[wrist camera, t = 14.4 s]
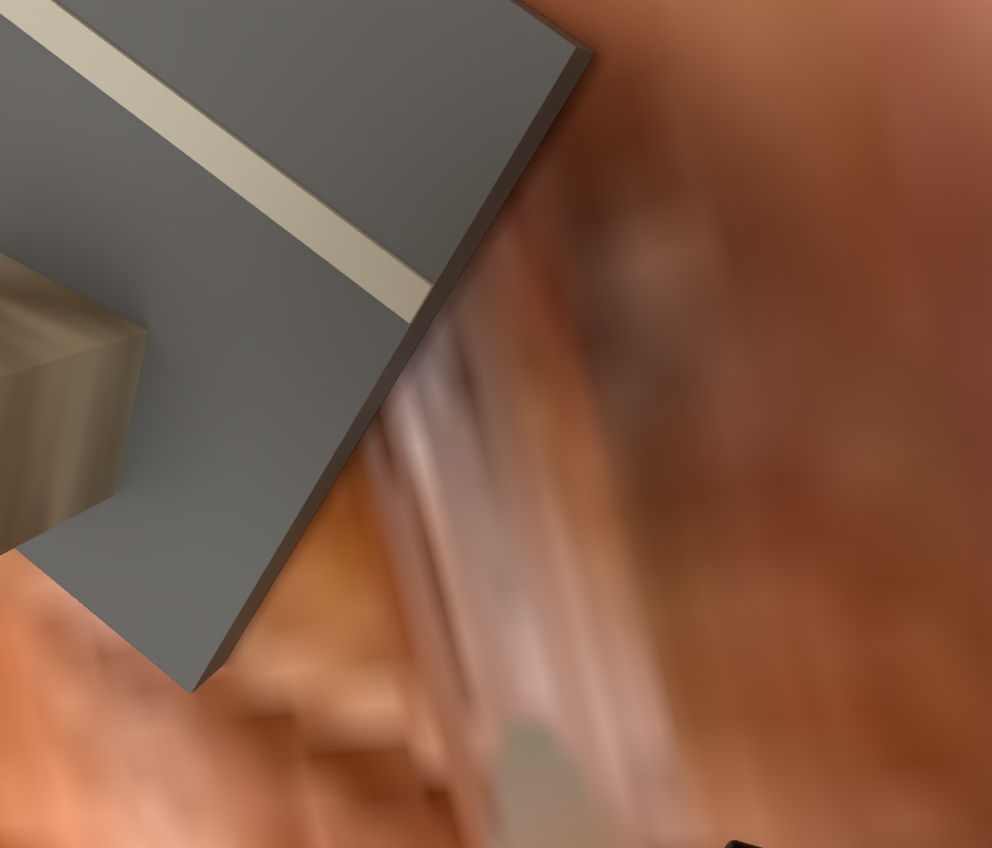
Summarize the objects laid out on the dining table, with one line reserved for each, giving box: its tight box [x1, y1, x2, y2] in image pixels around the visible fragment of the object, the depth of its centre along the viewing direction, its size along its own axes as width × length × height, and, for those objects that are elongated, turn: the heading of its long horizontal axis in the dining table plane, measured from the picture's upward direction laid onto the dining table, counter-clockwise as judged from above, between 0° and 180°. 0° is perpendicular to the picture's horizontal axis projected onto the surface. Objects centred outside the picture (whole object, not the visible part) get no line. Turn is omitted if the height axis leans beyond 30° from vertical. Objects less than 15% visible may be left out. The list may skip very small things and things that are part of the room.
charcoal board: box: [0, 0, 595, 694], centre depth 22 cm, size 13×20×2 cm, turn 147°
